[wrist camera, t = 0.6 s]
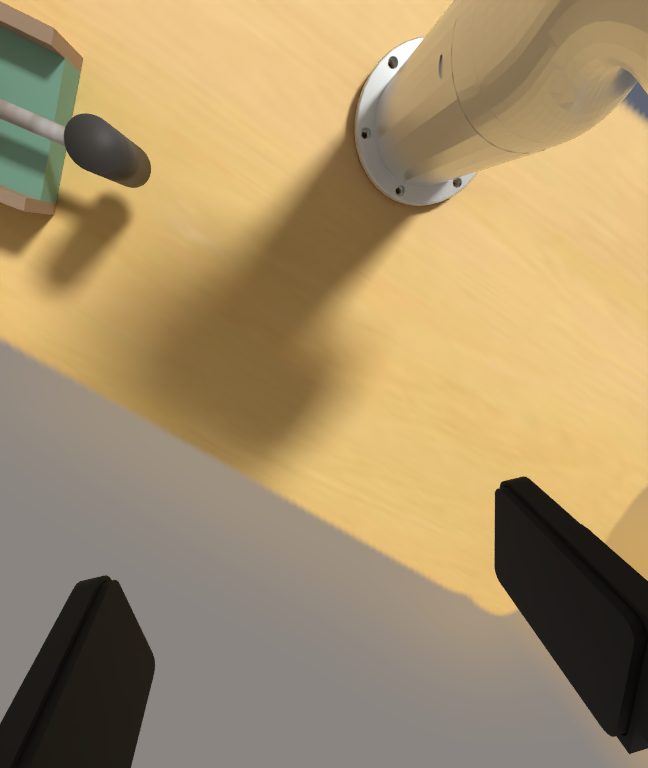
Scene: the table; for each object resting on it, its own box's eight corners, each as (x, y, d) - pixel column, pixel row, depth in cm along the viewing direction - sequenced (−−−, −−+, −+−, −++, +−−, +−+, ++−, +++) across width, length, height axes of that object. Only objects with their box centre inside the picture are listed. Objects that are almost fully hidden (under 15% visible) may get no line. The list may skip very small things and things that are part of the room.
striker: (-66, 29, 26) (-201, -57, 18) (163, 136, 30) (131, 101, 22) (-75, 125, 27) (-202, 81, 20) (144, 214, 31) (107, 206, 24)
